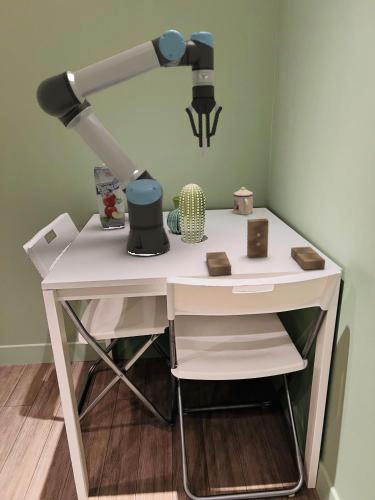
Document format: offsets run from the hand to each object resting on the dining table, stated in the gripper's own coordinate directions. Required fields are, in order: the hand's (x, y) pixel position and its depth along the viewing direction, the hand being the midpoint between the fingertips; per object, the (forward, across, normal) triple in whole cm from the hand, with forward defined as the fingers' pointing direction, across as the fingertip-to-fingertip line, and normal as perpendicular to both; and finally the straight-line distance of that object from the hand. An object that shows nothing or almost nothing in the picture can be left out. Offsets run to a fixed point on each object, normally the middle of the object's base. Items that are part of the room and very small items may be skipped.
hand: (204, 156), depth 133 cm
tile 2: (+29, +14, -26) cm, 41 cm away
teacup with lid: (+29, +20, +30) cm, 46 cm away
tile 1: (+28, 0, -27) cm, 39 cm away
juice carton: (+30, -38, +18) cm, 52 cm away
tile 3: (+28, +27, -27) cm, 48 cm away
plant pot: (+30, -8, +31) cm, 44 cm away
